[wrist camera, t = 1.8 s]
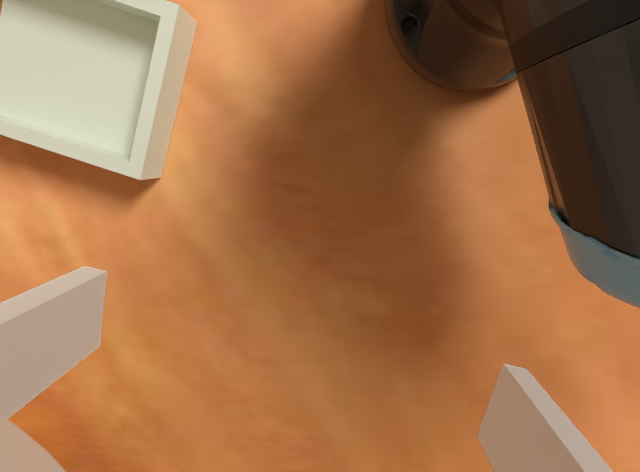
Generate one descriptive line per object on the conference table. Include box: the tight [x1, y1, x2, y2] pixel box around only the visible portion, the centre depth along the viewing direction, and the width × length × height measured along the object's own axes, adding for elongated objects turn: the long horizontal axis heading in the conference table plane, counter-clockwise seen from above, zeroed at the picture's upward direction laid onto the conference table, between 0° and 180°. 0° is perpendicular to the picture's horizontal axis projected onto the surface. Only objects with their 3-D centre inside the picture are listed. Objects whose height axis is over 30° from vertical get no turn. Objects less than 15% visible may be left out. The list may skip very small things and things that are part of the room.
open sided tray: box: [0, 0, 197, 180], centre depth 32 cm, size 14×16×4 cm
